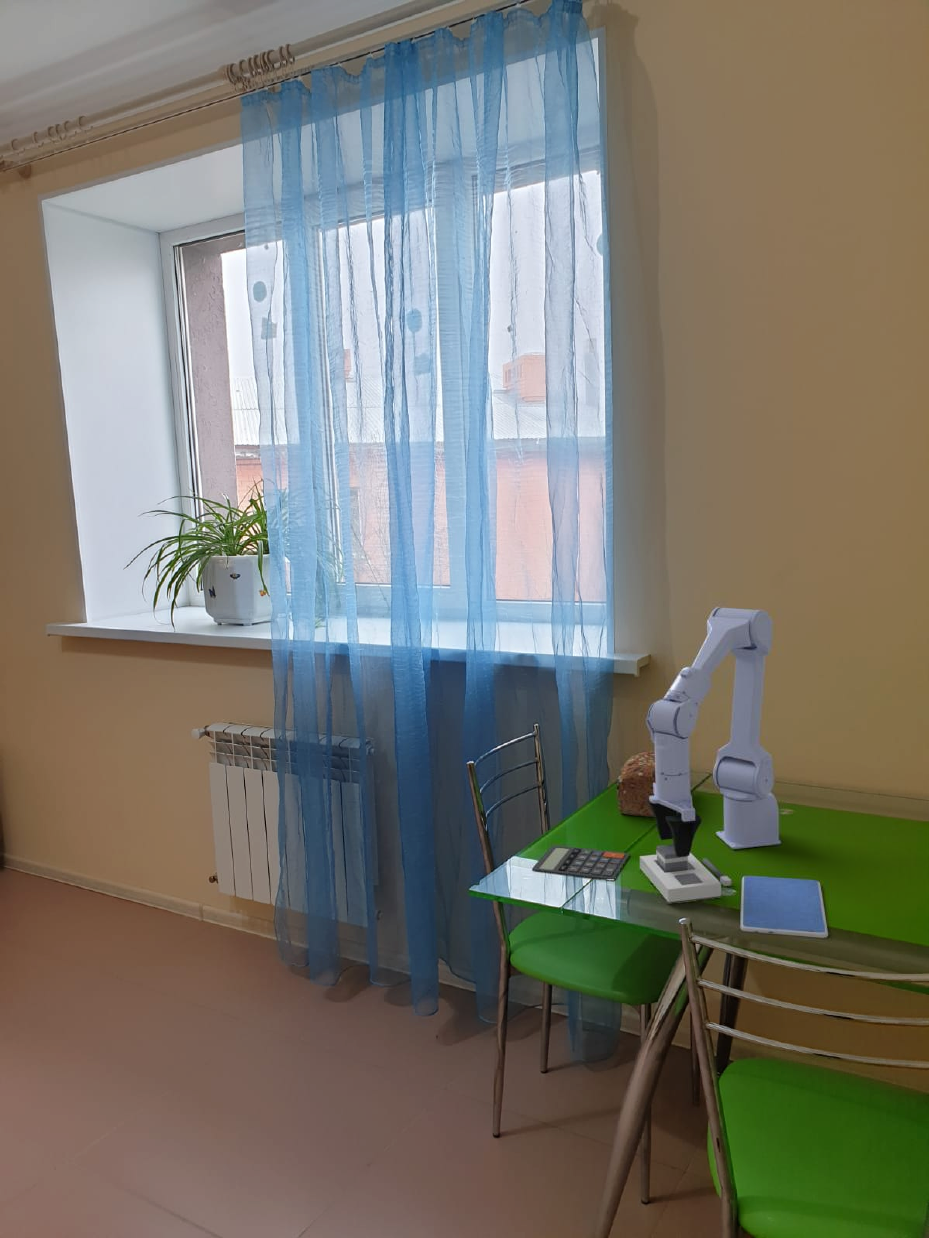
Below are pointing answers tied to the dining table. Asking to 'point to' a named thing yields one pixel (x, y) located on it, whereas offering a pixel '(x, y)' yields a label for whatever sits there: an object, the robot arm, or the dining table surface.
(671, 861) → the block
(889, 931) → the dining table surface
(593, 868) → the calculator
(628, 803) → the bread
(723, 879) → the cable
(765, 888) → the tablet computer
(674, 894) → the switch plate
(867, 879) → the dining table surface
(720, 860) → the dining table surface
